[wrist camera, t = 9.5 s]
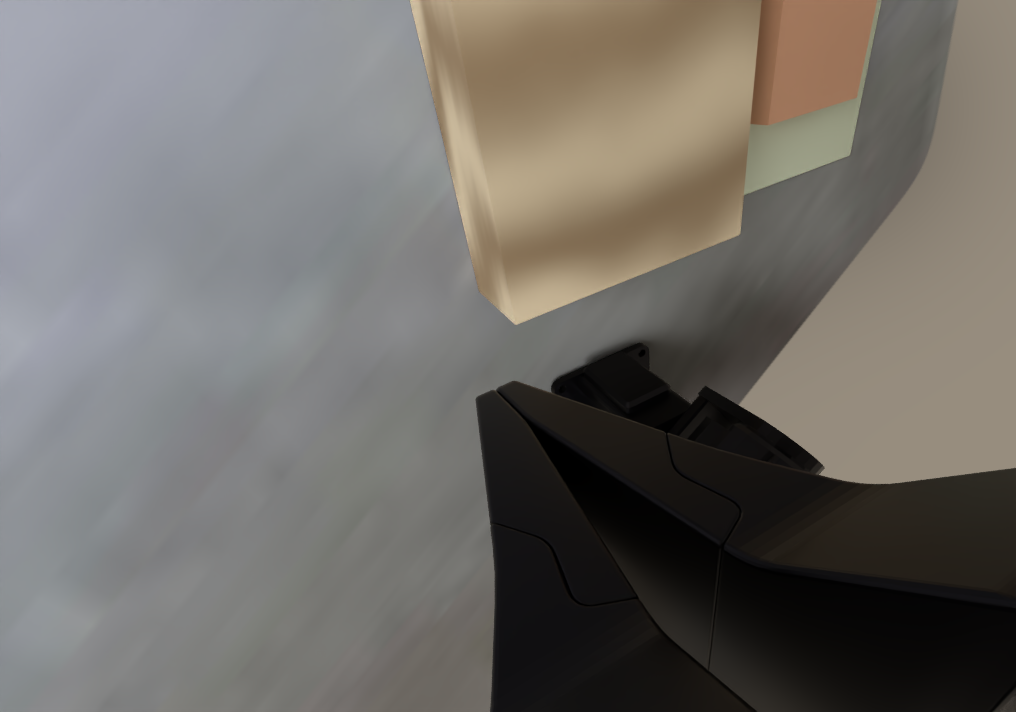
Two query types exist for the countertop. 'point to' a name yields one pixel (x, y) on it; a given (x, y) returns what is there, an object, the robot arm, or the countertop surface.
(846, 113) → the mat
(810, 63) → the tile
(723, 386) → the countertop surface
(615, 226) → the tan wooden flat block
